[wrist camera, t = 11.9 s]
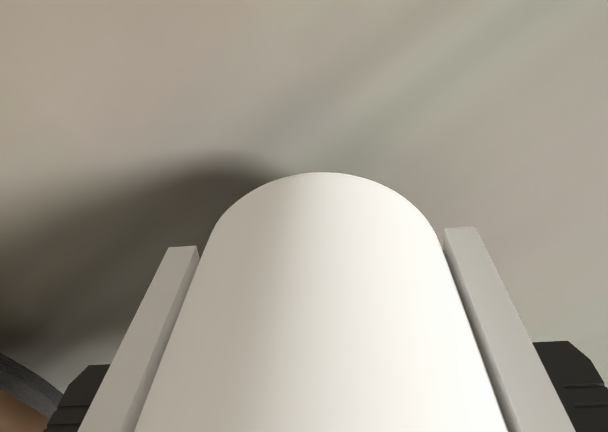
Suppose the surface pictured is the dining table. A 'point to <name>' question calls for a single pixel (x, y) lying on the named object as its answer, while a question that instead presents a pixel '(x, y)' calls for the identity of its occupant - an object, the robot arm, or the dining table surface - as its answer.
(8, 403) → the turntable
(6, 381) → the turntable base
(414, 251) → the can
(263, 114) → the dining table surface
